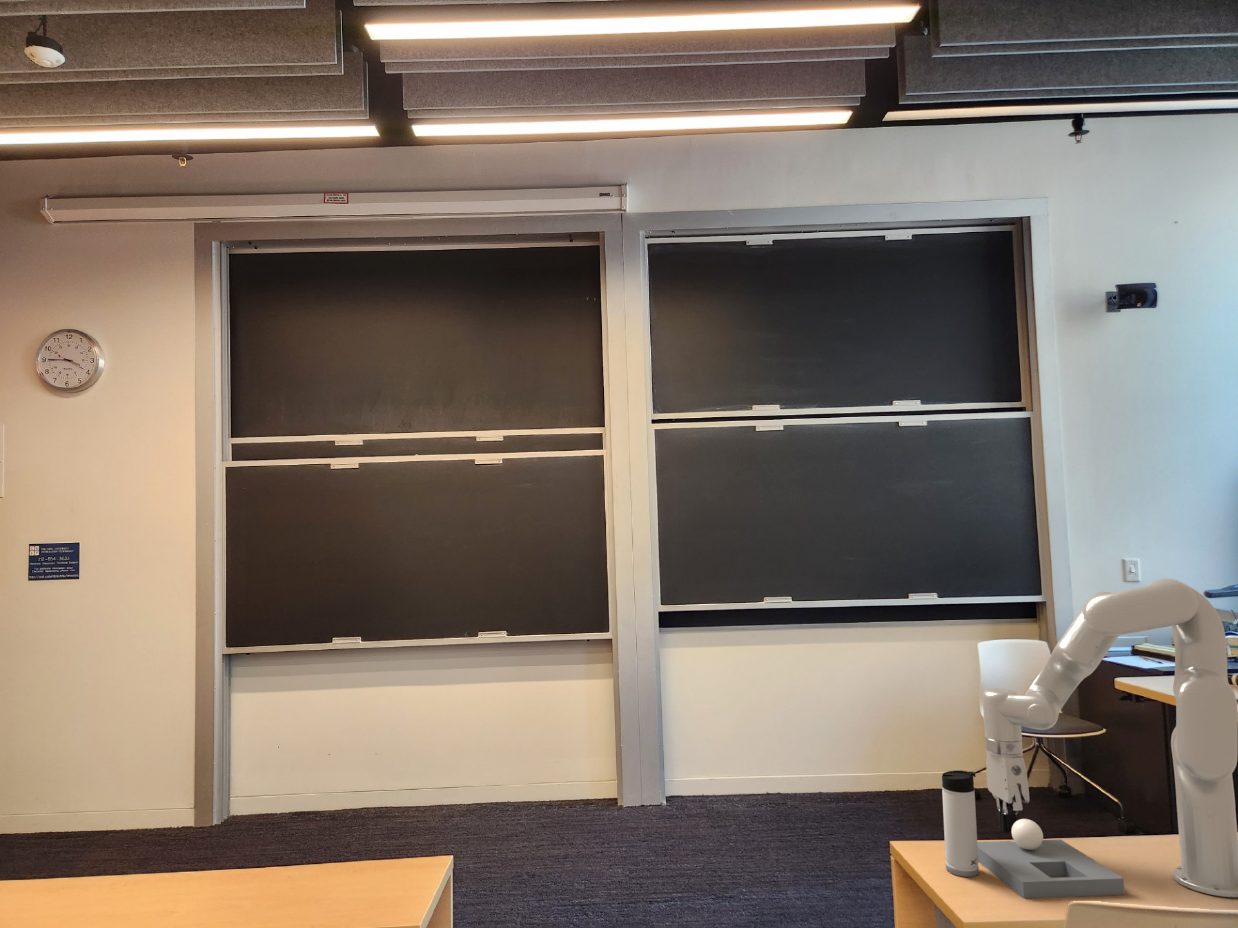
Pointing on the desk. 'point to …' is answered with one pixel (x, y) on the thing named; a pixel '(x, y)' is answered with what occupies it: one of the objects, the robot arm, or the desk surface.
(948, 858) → the travel mug
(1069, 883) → the plate
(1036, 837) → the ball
